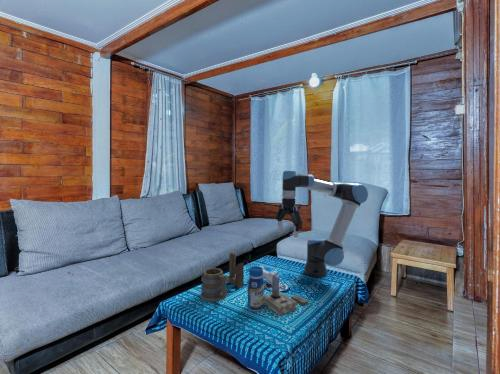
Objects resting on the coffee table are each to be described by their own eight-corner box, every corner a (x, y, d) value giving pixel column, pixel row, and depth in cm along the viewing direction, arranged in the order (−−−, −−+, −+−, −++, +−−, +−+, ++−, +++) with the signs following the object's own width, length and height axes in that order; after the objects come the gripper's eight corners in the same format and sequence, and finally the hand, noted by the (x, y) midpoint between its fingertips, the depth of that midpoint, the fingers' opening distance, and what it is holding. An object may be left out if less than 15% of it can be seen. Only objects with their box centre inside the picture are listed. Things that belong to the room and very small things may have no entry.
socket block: (278, 297, 147) (279, 291, 147) (296, 308, 136) (296, 301, 136) (262, 302, 142) (262, 296, 141) (279, 314, 130) (279, 307, 130)
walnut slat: (308, 304, 141) (308, 301, 141) (304, 306, 139) (304, 302, 139) (294, 298, 148) (294, 294, 148) (291, 299, 146) (291, 296, 146)
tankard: (196, 295, 149) (196, 268, 148) (216, 289, 157) (216, 263, 156) (216, 310, 133) (216, 280, 132) (237, 302, 141) (237, 274, 140)
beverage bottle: (254, 301, 142) (254, 264, 141) (267, 307, 137) (268, 268, 136) (243, 308, 136) (244, 268, 134) (256, 314, 130) (257, 273, 129)
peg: (276, 300, 144) (276, 274, 143) (280, 303, 141) (280, 277, 140) (270, 302, 142) (270, 276, 141) (274, 305, 139) (275, 278, 138)
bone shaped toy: (253, 279, 172) (252, 267, 171) (263, 275, 178) (262, 263, 177) (269, 287, 161) (269, 274, 160) (279, 282, 166) (279, 270, 165)
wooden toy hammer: (238, 287, 159) (239, 257, 157) (227, 282, 167) (228, 253, 165) (243, 286, 161) (244, 256, 160) (232, 280, 169) (232, 252, 168)
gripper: (270, 196, 164) (269, 230, 166) (299, 200, 144) (298, 240, 145) (280, 195, 169) (279, 229, 170) (309, 199, 148) (308, 238, 149)
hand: (287, 234), depth 157 cm, fingers open, 13 cm apart
